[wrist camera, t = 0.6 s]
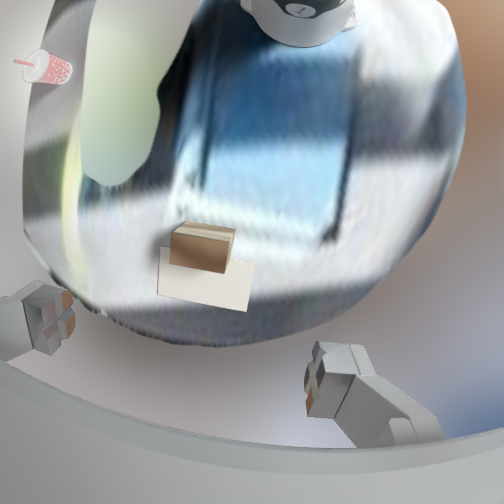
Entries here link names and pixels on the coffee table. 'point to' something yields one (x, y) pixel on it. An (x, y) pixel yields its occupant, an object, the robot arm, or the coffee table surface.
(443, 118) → the coffee table surface
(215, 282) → the pad
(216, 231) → the block
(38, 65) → the beverage cup
